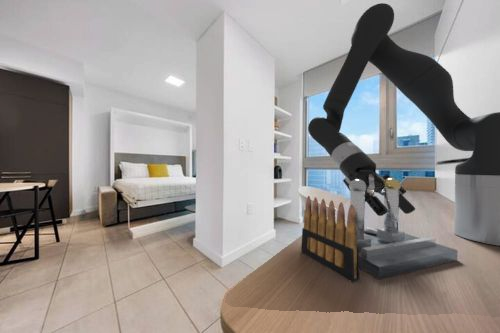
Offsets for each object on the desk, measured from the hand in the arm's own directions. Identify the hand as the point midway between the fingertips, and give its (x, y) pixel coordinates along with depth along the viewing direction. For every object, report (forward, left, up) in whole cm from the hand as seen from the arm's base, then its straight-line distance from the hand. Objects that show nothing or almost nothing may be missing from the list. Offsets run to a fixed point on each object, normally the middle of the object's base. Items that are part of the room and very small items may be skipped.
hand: (398, 212), depth 35 cm
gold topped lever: (0, -3, -6) cm, 7 cm away
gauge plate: (+2, -1, -9) cm, 9 cm away
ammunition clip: (+18, -1, -9) cm, 20 cm away
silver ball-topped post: (+10, -3, -7) cm, 13 cm away
